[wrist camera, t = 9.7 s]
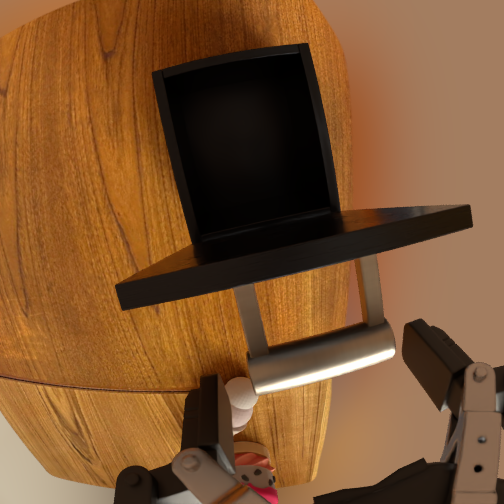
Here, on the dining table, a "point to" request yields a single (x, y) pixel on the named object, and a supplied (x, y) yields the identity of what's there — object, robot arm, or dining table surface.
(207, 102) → the bin
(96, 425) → the dining table surface
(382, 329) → the bin lid
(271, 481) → the cake
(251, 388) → the ice cream cone
